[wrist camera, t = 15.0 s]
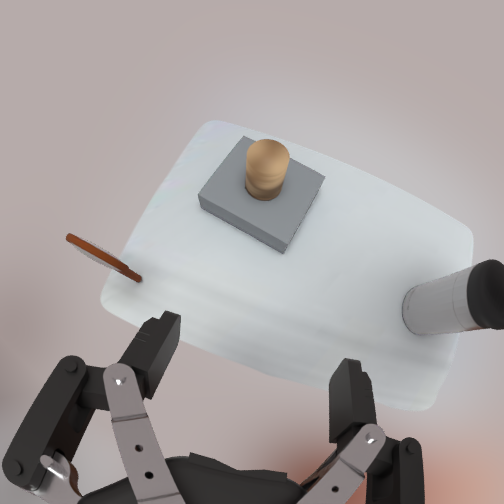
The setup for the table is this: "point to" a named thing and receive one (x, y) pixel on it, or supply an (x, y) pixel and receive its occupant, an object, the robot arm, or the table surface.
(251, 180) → the peg
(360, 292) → the table surface
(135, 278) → the magnifying glass
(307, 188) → the board
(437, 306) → the robot arm
